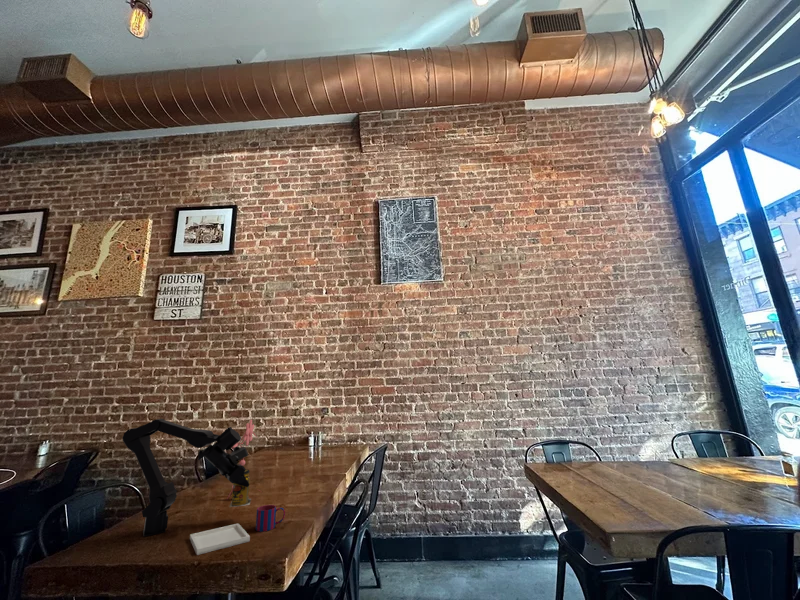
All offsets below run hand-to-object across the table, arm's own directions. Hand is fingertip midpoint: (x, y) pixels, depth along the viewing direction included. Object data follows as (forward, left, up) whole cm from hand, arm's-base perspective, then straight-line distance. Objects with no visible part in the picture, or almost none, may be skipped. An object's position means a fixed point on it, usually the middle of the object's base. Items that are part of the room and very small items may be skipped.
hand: (246, 484), depth 142 cm
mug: (+6, -14, -13) cm, 20 cm away
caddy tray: (-11, -14, -13) cm, 22 cm away
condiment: (-2, +1, -7) cm, 7 cm away
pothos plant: (+10, +36, -13) cm, 40 cm away
